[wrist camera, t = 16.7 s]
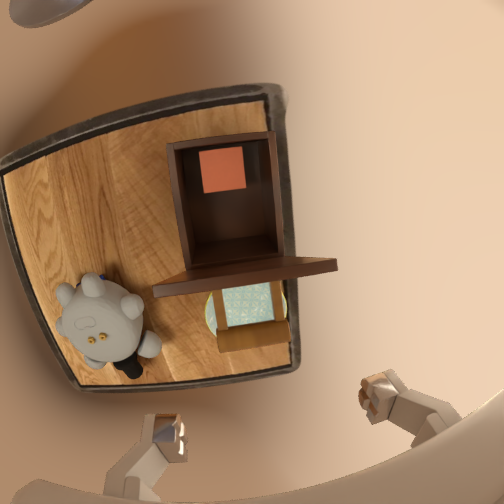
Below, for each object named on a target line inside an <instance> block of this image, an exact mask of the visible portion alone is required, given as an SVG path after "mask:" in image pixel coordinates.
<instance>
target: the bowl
mask: <svg viewBox="0 0 504 504" xmlns="http://www.w3.org/2000/svg"><path fill="white" fill-rule="evenodd" d="M222 293H223V299H224V305H225V312H226V318H227V324H228V327H229V326H235V325H242V324H249V323H255V322H261V321H267V320H273V319H274V317H273V309H272V302H271V294H270V287H269V282H267V283H261V284H254V285H248V286H241V287H234V288H227V289H222ZM282 300H283V308H284V315H285V318H286V313H287V304H286V300H285V297H284V295H283V293H282ZM205 320H206V323H207V325H208V328H209V329H210V331H211V332H212V333H213V334H214V335H215V336H216V328H218V327H217V321H216V315H215V309H214V303H213V297H212V291H211V293H210V294H209V297H208V299H207V302H206V306H205ZM216 337H217V336H216Z"/></svg>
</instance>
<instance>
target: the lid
mask: <svg viewBox="0 0 504 504" xmlns="http://www.w3.org/2000/svg"><path fill="white" fill-rule="evenodd" d="M333 271H338V266H337V259H336V258H313V257H291V256H284V257H277V258H270V259H263V260H256V261H249V262H242V263H235V264H228V265H221V266H214V267H207V268H200V269H193V270H186V271H184V272H182V273H179V274H177V275H175V276H173V277H170V278H168V279H166V280H164V281H161V282H159V283H157V284H155V285H153V286H152V288H153V294H154V298H160V297H168V296H176V295H184V294H191V293H199V292H206V291H212V297H213V303H214V309H215V315H216V321H217V327H218V328H216V336H217V343H218V348H219V352H220V353H224V352H231V351H238V350H245V349H251V348H257V347H263V346H269V345H274V344H280V343H285V342H289V341H290V338H291V335H290V328H289V324H288V321H287V319H286V318H285V315H284V308H283V300H282V292H281V284H280V280H286V279H292V278H298V277H304V276H310V275H316V274H322V273H327V272H333ZM267 282H269V287H270V294H271V302H272V309H273V317H274V319H273V320H267V321H261V322H255V323H249V324H242V325H235V326H229V327H228V324H227V318H226V312H225V305H224V299H223V293H222V289H227V288H234V287H241V286H248V285H254V284H261V283H267Z"/></svg>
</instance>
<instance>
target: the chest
mask: <svg viewBox="0 0 504 504" xmlns="http://www.w3.org/2000/svg"><path fill="white" fill-rule="evenodd" d="M240 146H242V152H243V161H244V171H245V180H246V188H242V189H234V190H226V191H218V192H211V193H204V189H203V181H202V174H201V166H200V157H199V152H200V151H207V150H214V149H222V148H231V147H240ZM166 149H167V157H168V165H169V173H170V180H171V187H172V194H173V200H174V206H175V213H176V219H177V225H178V230H179V236H180V241H181V247H182V252H183V257H184V262H185V268H186V270H193V269H200V268H207V267H214V266H221V265H228V264H235V263H242V262H249V261H256V260H263V259H270V258H277V257H284V256H285V251H284V235H283V221H282V207H281V194H280V182H279V170H278V159H277V148H276V138H275V131H268V132H267V131H266V132H253V133H242V134H232V135H223V136H215V137H207V138H200V139H193V140H187V141H180V142H174V143H169V144H166Z"/></svg>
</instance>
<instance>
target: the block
mask: <svg viewBox="0 0 504 504" xmlns="http://www.w3.org/2000/svg"><path fill="white" fill-rule="evenodd" d="M199 157H200V166H201V174H202V181H203V189H204V193H211V192H218V191H226V190H234V189H242V188H246V180H245V171H244V161H243V152H242V146H240V147H231V148H222V149H214V150H207V151H200V152H199Z"/></svg>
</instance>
